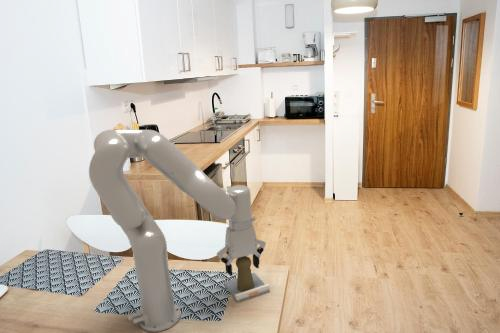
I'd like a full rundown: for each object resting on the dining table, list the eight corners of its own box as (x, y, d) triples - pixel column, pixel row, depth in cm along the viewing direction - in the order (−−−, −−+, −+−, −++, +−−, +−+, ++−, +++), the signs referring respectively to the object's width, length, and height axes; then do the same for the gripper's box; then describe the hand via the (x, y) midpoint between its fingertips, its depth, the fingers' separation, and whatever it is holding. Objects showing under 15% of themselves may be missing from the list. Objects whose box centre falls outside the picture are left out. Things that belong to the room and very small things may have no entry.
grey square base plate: (237, 303, 128) (236, 296, 128) (223, 284, 139) (223, 278, 138) (270, 292, 133) (269, 285, 132) (254, 275, 144) (254, 269, 143)
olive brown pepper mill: (252, 292, 132) (250, 263, 129) (235, 291, 133) (232, 262, 130) (255, 282, 137) (253, 253, 134) (239, 281, 139) (236, 253, 135)
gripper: (259, 214, 135) (261, 259, 140) (211, 224, 129) (215, 271, 133) (269, 221, 129) (270, 268, 133) (219, 233, 122) (223, 282, 126)
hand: (243, 270), depth 133 cm, fingers open, 9 cm apart
